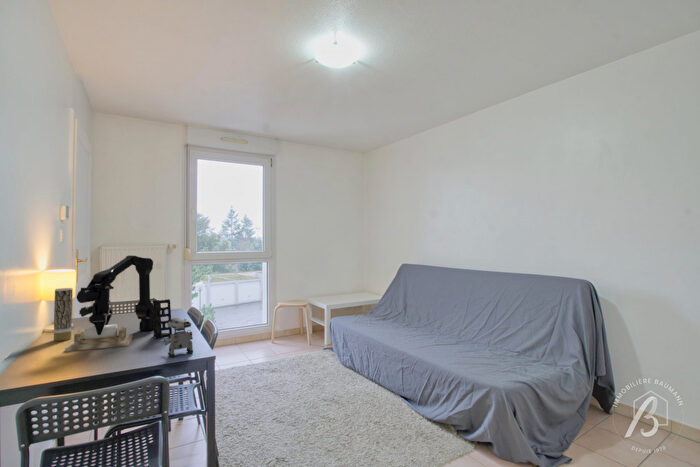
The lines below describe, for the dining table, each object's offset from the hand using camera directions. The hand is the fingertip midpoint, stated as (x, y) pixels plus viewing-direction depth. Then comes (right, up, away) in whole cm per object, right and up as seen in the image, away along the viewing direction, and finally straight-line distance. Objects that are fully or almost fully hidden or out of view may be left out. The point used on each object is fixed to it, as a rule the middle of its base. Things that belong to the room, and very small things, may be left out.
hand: (101, 332), depth 168 cm
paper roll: (0, -3, 0) cm, 3 cm away
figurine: (+43, -6, -13) cm, 45 cm away
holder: (+22, -6, +13) cm, 26 cm away
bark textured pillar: (-24, -6, +7) cm, 25 cm away
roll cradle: (0, -6, 0) cm, 6 cm away
